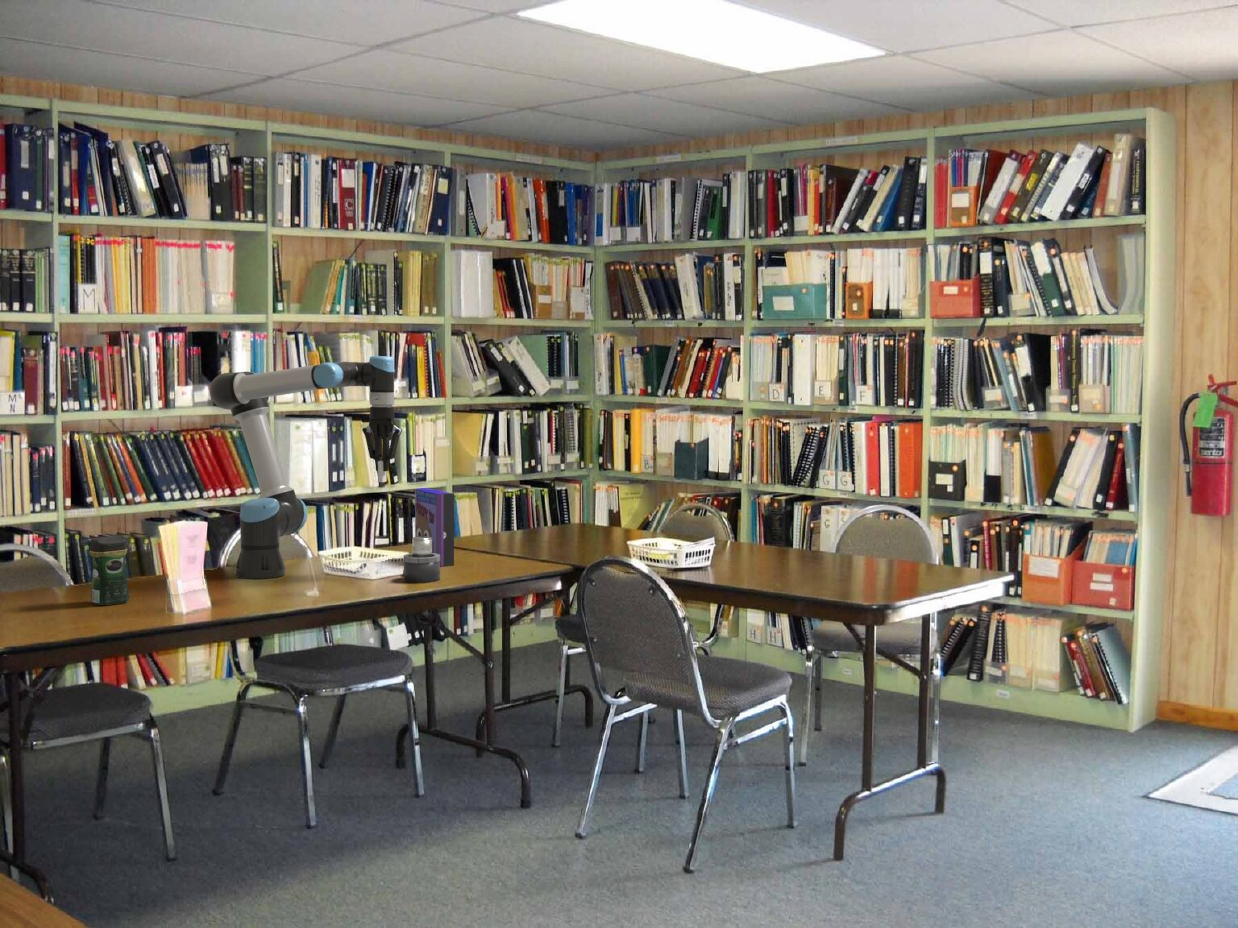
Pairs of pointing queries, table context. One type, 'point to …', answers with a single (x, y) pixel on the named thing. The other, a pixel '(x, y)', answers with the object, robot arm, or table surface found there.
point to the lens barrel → (422, 568)
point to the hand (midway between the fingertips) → (382, 481)
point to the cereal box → (436, 521)
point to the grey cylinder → (422, 547)
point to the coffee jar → (109, 570)
